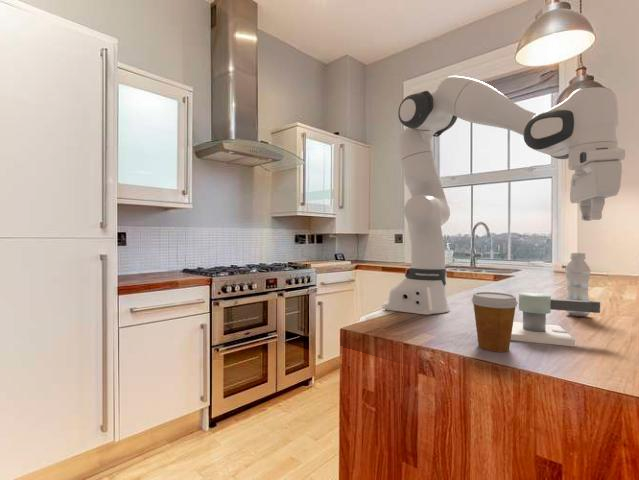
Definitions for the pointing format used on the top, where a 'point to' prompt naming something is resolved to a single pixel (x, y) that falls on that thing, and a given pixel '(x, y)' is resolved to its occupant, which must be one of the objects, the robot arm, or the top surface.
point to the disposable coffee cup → (494, 319)
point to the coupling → (554, 304)
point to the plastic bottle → (577, 281)
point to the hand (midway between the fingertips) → (591, 220)
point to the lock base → (540, 331)
